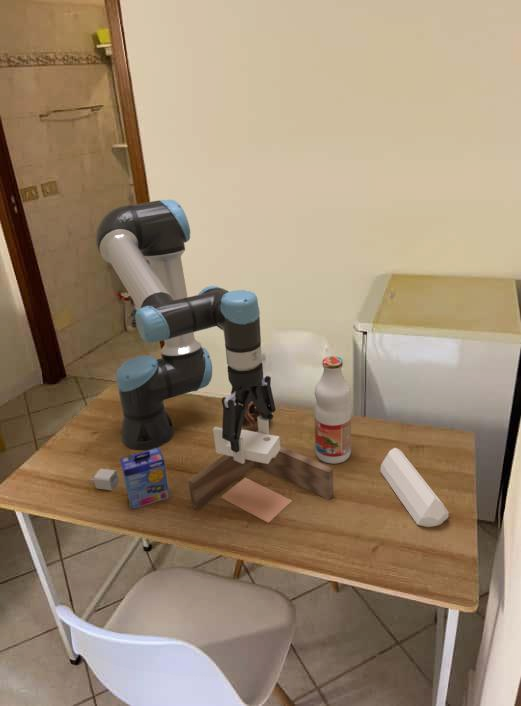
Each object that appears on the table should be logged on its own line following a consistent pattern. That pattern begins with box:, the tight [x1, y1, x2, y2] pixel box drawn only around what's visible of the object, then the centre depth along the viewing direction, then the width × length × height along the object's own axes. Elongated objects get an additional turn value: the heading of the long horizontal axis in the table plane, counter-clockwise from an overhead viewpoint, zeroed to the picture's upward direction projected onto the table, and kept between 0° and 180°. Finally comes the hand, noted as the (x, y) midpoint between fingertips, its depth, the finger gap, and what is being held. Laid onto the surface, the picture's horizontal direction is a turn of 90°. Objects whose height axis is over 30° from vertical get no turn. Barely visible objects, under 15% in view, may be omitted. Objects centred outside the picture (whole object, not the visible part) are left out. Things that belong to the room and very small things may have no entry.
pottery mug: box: [244, 401, 273, 432], centre depth 162 cm, size 12×10×8 cm
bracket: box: [212, 426, 281, 464], centre depth 126 cm, size 13×7×8 cm, turn 66°
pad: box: [220, 477, 293, 524], centre depth 133 cm, size 15×9×1 cm, turn 50°
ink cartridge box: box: [119, 447, 171, 510], centre depth 133 cm, size 10×6×14 cm, turn 113°
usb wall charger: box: [87, 468, 120, 491], centre depth 141 cm, size 4×7×4 cm, turn 76°
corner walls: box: [188, 445, 334, 511], centre depth 131 cm, size 25×23×8 cm
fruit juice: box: [314, 355, 352, 465], centre depth 142 cm, size 9×9×28 cm
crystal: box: [379, 447, 450, 528], centre depth 130 cm, size 7×7×24 cm
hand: (252, 451), depth 127 cm, fingers closed on bracket, 8 cm apart
